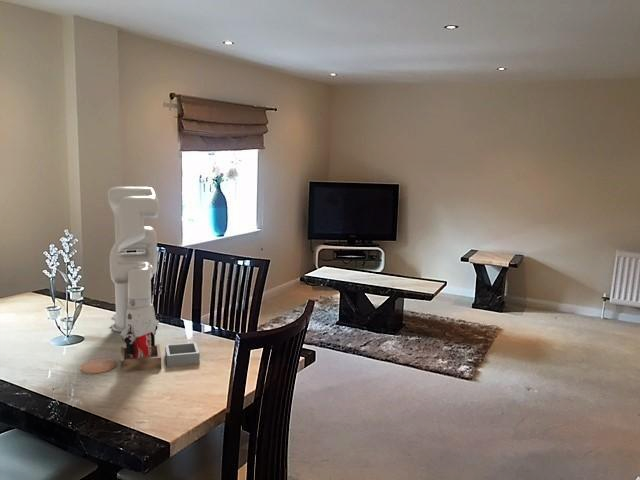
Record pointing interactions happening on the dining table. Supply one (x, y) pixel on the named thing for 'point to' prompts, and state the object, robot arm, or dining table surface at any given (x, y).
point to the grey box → (182, 354)
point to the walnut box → (141, 360)
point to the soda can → (142, 347)
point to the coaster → (97, 366)
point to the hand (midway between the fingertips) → (140, 349)
